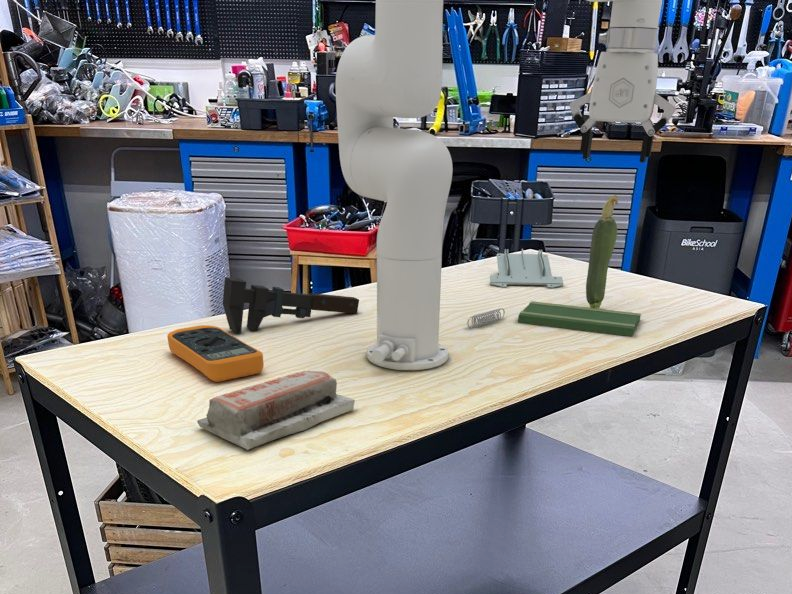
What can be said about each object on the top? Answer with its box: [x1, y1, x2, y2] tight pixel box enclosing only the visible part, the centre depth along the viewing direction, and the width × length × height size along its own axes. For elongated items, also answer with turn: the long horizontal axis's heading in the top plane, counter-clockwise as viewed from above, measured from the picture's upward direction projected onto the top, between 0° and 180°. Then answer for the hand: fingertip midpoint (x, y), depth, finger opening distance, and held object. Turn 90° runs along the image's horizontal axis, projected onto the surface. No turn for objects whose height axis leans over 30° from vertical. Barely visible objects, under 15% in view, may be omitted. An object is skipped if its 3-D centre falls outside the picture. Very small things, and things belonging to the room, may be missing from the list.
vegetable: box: [585, 194, 619, 309], centre depth 144 cm, size 4×4×20 cm
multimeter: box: [167, 324, 264, 383], centre depth 119 cm, size 9×18×3 cm, turn 36°
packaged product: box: [197, 370, 356, 451], centre depth 101 cm, size 18×5×10 cm
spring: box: [466, 307, 506, 329], centre depth 140 cm, size 10×2×2 cm, turn 134°
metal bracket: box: [489, 248, 564, 289], centre depth 168 cm, size 14×6×15 cm
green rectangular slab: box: [517, 300, 642, 337], centre depth 142 cm, size 10×20×2 cm, turn 69°
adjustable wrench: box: [222, 276, 360, 334], centre depth 138 cm, size 8×3×25 cm
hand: (614, 160), depth 136 cm, fingers open, 9 cm apart
